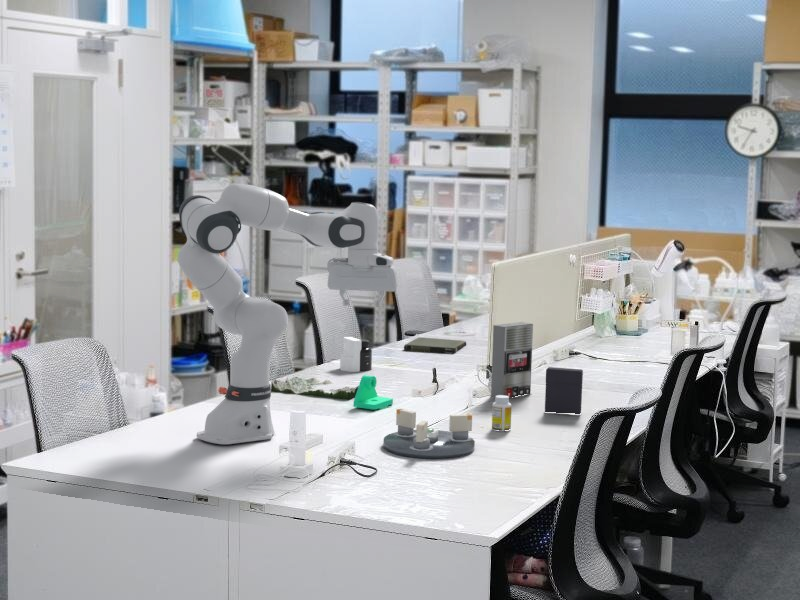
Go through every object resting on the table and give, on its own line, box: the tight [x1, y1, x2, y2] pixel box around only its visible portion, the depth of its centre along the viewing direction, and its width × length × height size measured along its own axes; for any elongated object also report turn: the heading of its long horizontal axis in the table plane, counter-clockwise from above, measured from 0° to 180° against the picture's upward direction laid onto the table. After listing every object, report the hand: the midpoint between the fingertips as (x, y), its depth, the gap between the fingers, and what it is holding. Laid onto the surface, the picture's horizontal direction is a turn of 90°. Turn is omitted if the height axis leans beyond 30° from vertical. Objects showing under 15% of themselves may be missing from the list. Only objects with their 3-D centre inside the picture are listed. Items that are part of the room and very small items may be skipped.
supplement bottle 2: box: [491, 395, 512, 431], centre depth 345 cm, size 6×6×10 cm
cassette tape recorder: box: [490, 321, 534, 399], centre depth 389 cm, size 14×6×25 cm, turn 131°
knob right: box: [448, 413, 473, 440], centre depth 325 cm, size 6×4×6 cm
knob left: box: [413, 420, 430, 449], centre depth 314 cm, size 6×4×6 cm
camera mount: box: [352, 374, 394, 410], centre depth 372 cm, size 12×8×10 cm, turn 150°
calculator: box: [544, 366, 584, 414], centre depth 366 cm, size 11×4×15 cm, turn 74°
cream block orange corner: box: [395, 408, 417, 435], centre depth 329 cm, size 6×4×6 cm
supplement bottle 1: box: [359, 339, 373, 372], centre depth 431 cm, size 7×7×12 cm
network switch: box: [403, 336, 467, 355], centre depth 478 cm, size 23×24×5 cm
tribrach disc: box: [382, 427, 475, 460], centre depth 323 cm, size 25×25×5 cm
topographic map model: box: [270, 376, 359, 401], centre depth 403 cm, size 36×29×5 cm
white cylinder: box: [339, 336, 362, 373], centre depth 431 cm, size 9×9×12 cm
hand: (362, 306), depth 342 cm, fingers open, 8 cm apart
